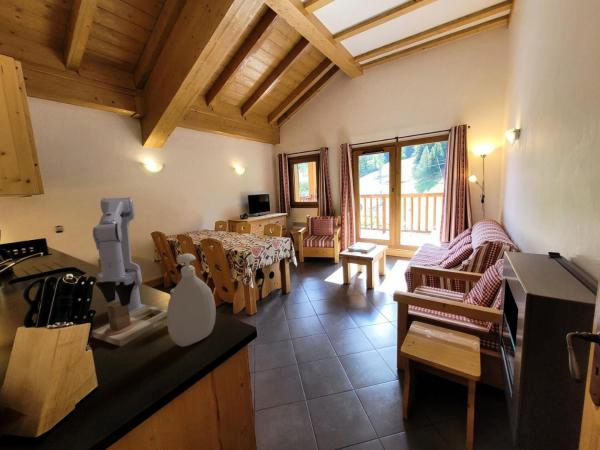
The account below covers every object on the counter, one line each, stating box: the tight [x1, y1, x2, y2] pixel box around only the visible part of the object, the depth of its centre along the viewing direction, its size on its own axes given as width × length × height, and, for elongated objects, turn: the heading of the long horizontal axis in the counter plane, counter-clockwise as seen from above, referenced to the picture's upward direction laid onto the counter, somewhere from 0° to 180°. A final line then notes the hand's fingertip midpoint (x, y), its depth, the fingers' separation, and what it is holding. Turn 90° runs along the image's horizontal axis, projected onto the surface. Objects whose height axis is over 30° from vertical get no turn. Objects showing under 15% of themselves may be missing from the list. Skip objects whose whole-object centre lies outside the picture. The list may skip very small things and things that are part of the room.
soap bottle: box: [166, 252, 217, 348], centre depth 76 cm, size 14×8×27 cm, turn 138°
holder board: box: [91, 305, 168, 347], centre depth 87 cm, size 14×19×2 cm
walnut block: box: [106, 300, 131, 331], centre depth 82 cm, size 4×4×8 cm
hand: (118, 303), depth 81 cm, fingers open, 7 cm apart
